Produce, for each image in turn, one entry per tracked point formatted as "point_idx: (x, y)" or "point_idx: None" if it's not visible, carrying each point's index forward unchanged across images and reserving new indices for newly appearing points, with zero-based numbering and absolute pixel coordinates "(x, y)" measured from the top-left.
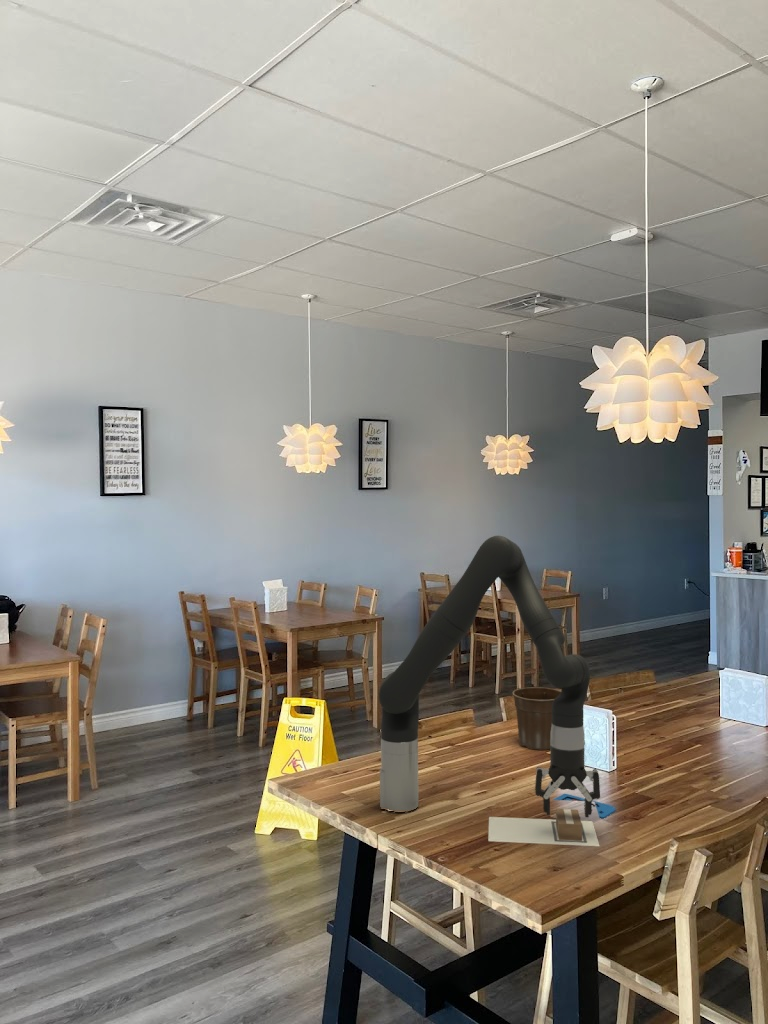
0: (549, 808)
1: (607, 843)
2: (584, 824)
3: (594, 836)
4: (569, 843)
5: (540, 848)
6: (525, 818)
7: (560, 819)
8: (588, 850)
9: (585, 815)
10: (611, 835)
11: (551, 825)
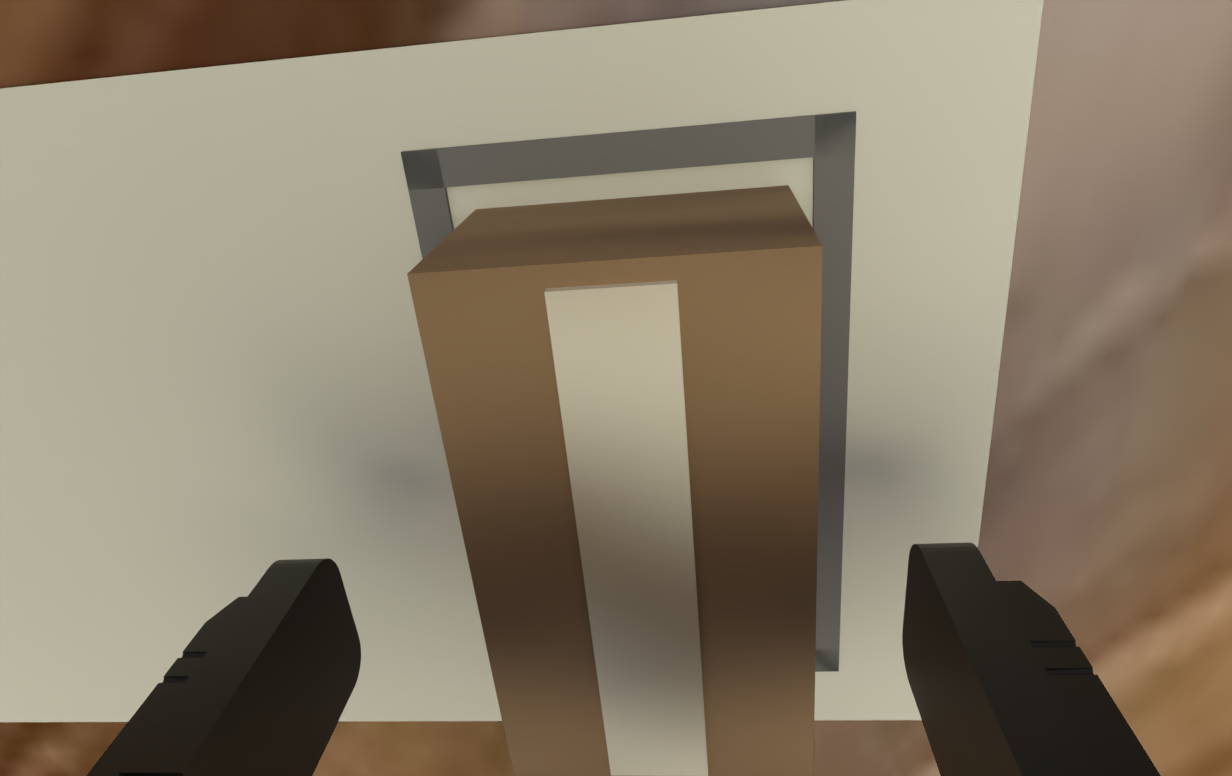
0: (312, 756)
1: (1068, 589)
2: (889, 155)
3: (953, 517)
4: None
5: (401, 742)
6: (29, 92)
7: (525, 667)
8: (830, 738)
9: (910, 682)
10: (1197, 380)
11: None
